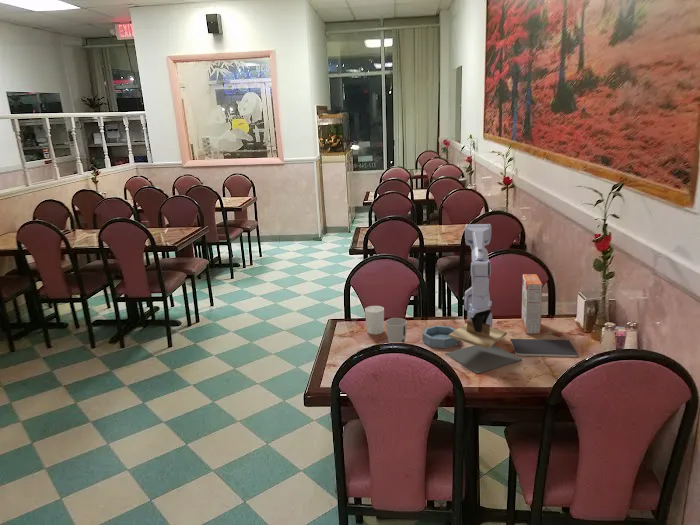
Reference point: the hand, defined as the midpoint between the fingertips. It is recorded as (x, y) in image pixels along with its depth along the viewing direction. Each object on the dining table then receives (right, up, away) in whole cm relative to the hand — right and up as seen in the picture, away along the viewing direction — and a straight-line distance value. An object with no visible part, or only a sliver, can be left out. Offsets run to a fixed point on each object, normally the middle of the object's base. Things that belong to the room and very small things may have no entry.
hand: (479, 330), depth 180 cm
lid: (0, -2, +1) cm, 2 cm away
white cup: (-36, -5, +29) cm, 46 cm away
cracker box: (+27, -3, +25) cm, 37 cm away
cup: (-28, -8, +14) cm, 33 cm away
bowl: (-11, -6, +17) cm, 21 cm away
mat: (+2, -10, +1) cm, 10 cm away
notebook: (+25, -8, +6) cm, 27 cm away
